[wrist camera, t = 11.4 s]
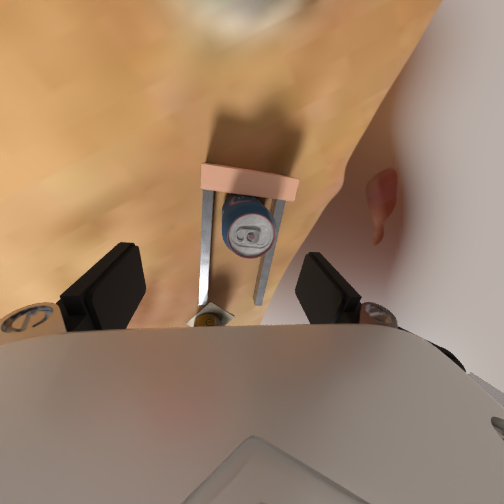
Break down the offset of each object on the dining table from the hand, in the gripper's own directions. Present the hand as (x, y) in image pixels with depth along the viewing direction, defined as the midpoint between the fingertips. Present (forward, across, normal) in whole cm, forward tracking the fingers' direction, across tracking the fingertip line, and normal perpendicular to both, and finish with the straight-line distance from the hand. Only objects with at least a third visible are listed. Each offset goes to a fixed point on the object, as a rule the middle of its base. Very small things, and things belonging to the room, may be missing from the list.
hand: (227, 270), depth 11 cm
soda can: (+23, -3, +3) cm, 23 cm away
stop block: (+23, -3, -2) cm, 23 cm away
